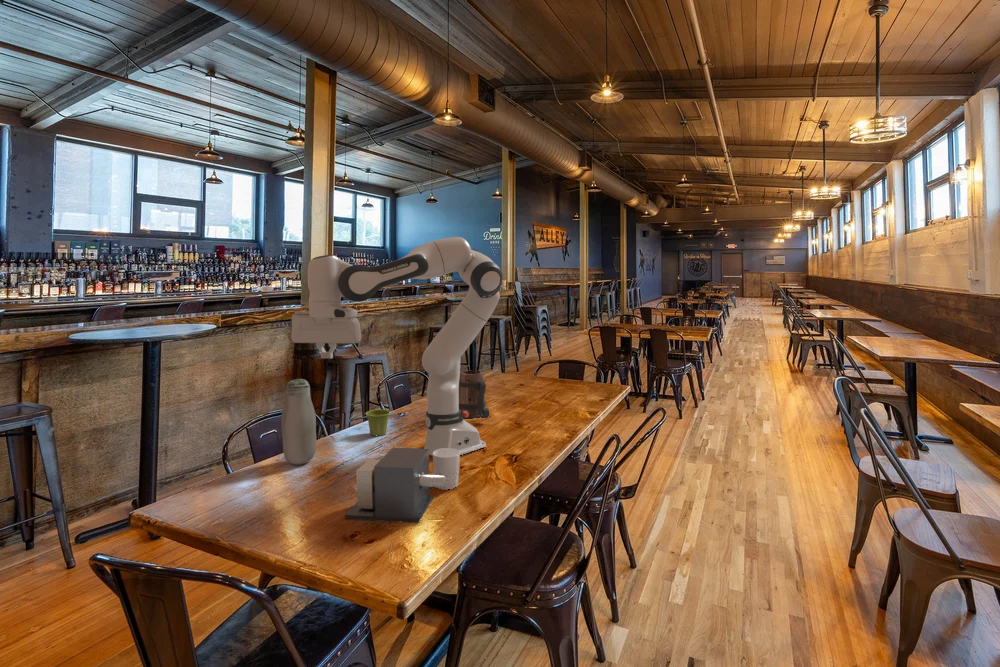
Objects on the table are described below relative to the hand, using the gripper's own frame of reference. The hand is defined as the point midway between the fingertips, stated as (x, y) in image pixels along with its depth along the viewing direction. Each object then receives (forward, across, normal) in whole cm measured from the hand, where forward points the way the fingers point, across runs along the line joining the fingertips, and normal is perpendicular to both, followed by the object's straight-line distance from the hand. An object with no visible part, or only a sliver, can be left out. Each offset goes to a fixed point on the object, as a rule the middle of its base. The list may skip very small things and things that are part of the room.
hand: (327, 358), depth 145 cm
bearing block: (+37, +24, -16) cm, 47 cm away
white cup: (+37, +35, 0) cm, 51 cm away
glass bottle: (+37, -17, +12) cm, 43 cm away
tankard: (+37, +31, +72) cm, 87 cm away
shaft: (+36, +28, -16) cm, 48 cm away
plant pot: (+37, -2, +45) cm, 58 cm away
